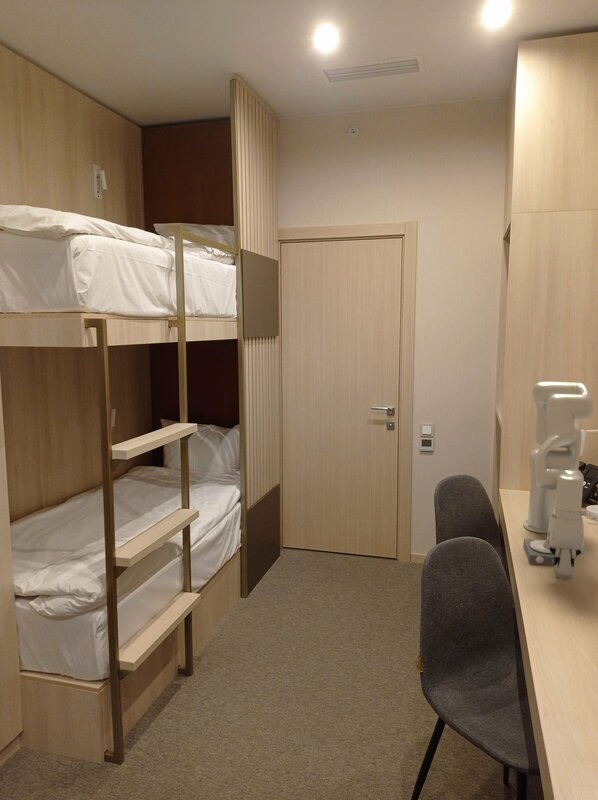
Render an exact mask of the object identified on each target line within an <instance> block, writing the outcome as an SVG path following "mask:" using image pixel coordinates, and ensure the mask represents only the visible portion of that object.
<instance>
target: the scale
mask: <svg viewBox="0 0 598 800" xmlns="http://www.w3.org/2000/svg"><path fill="white" fill-rule="evenodd" d="M545 541H546V539H545V540H543V539H530V538H523V549H524V552H525V555H526V557H527V560H528V563H529V564H531V565H543V566H544V565H545V566H553V567H554V554H553V553H552V552H551V551H550V550H548V549H546V548H544V547H543V544H544V542H545ZM549 545H550V544H549Z"/></svg>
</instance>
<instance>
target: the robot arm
mask: <svg viewBox="0 0 598 800" xmlns="http://www.w3.org/2000/svg"><path fill="white" fill-rule="evenodd" d="M532 399H533V401H534V403H535V408H536V421H535V431H534V432H535V435H534V437H535V439H534V440H535V443H536V444H537V445H538V446H540V447H539V448H535V449H533V450H532V451H531V452H530V454H529V456H528V461H529V462H528V463H529V472H530V473H529V475H530V477H529V478H530V480H529V496H528V497H529V498H528V499H529V500H528V513H527V515H528V516H527V519H526V520H524V522H523V527H524V528H525V529H527V530H528V531H530V532H533V533H539V534H545V535H546V534H547V538H546V539H545V540H546V541H545V542H544V544H543V547H544V548H546V549H548V550H550V551H551V552H552V553H553V554H554V565H556V564H557V562H558V566H559V563H560V557H559V553H560V548H562V549H571V556H572V558H571V567H572V564H573V568H574V567H575V559H577V557H578V556H580V555H581V554H583V553H585V552H588V550H589V549H588V547H587V545H586V543H585V531H584V530H585V529H584V521H583V516H586V515H587V513H586V512H587V511H586V510H583V509H582V506H583V505H582V502H583V489H584V481H585V480H584V479H585V478H584V474H583V473H582V471H581V470H580V469H579V467H580V462H581V461H580V458H581V449H582V438H583V437H582V436H583V435H582V429H581V427H580V425H579V424H577V423H576V421H575V420H589V419H591V417H592V416H593V413H594V402H593V399H592V396H591V394H590V391H589V390H588V388H587V386H586V384H584V383H582V382H576V381H575V382H574V381H573V382H572V381H540V382H537V383H535V384H534V385H533V388H532ZM562 448H563V449H562ZM549 544H550V545H549Z"/></svg>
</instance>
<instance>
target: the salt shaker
mask: <svg viewBox="0 0 598 800" xmlns="http://www.w3.org/2000/svg"><path fill="white" fill-rule="evenodd" d="M559 557H560V563H559V566H558V562H557V564H556V565H554V566H553V572H554V574H555V576H556V578H557V579H560V580H565V581H568V580H571V578H572V576H573V574H574V567H573V564H572V567H571V558H572V556H571V549H562V548H560V553H559Z"/></svg>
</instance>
